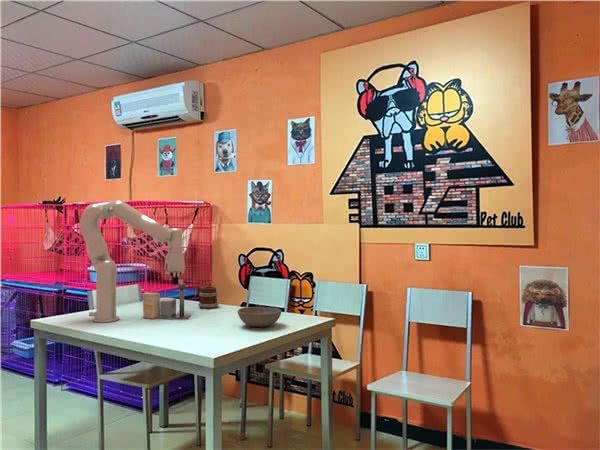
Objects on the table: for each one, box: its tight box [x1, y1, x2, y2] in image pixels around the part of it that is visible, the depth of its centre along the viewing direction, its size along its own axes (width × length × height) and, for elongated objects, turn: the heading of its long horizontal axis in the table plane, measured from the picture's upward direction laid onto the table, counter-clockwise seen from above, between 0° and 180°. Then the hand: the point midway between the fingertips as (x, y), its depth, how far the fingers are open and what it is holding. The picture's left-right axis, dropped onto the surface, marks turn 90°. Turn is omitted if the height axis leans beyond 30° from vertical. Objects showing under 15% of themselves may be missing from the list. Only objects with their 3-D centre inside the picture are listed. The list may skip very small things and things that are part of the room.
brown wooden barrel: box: [196, 284, 219, 310], centre depth 284 cm, size 12×14×15 cm
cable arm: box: [177, 279, 186, 289], centre depth 261 cm, size 20×4×2 cm, turn 17°
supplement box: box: [142, 291, 161, 320], centre depth 254 cm, size 8×5×13 cm, turn 58°
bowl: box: [237, 306, 283, 328], centre depth 233 cm, size 21×21×8 cm
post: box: [171, 288, 192, 320], centre depth 253 cm, size 8×8×16 cm
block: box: [159, 298, 177, 320], centre depth 254 cm, size 6×8×9 cm
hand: (175, 284), depth 264 cm, fingers closed
